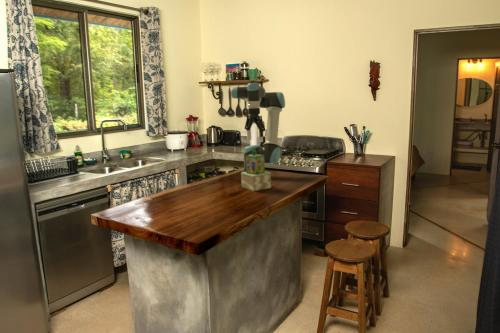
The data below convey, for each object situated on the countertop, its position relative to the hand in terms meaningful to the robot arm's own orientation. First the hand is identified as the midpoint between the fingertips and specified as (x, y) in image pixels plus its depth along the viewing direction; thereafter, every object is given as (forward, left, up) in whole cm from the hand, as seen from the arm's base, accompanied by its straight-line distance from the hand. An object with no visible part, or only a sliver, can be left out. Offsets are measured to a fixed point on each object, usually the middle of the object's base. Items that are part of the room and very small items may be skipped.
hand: (254, 141), depth 253 cm
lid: (0, 0, -21) cm, 21 cm away
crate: (0, 0, -31) cm, 31 cm away
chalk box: (0, 0, -21) cm, 21 cm away
